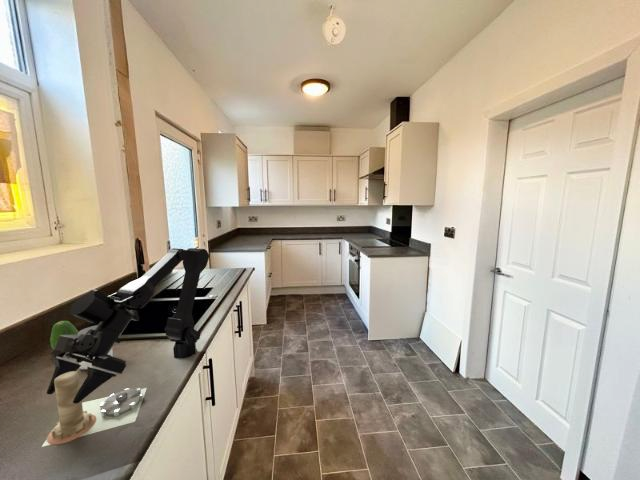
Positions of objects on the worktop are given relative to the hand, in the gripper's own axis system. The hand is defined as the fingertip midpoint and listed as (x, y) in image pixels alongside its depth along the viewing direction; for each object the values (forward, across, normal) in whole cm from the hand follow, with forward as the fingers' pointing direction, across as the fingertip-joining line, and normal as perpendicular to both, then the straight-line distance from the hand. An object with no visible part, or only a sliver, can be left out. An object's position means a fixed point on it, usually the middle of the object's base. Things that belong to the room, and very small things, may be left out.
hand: (61, 398), depth 58 cm
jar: (-9, -26, +23) cm, 36 cm away
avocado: (-10, -44, +24) cm, 51 cm away
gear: (-1, +4, +13) cm, 14 cm away
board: (+2, +1, +12) cm, 12 cm away
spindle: (+5, 0, +7) cm, 9 cm away
